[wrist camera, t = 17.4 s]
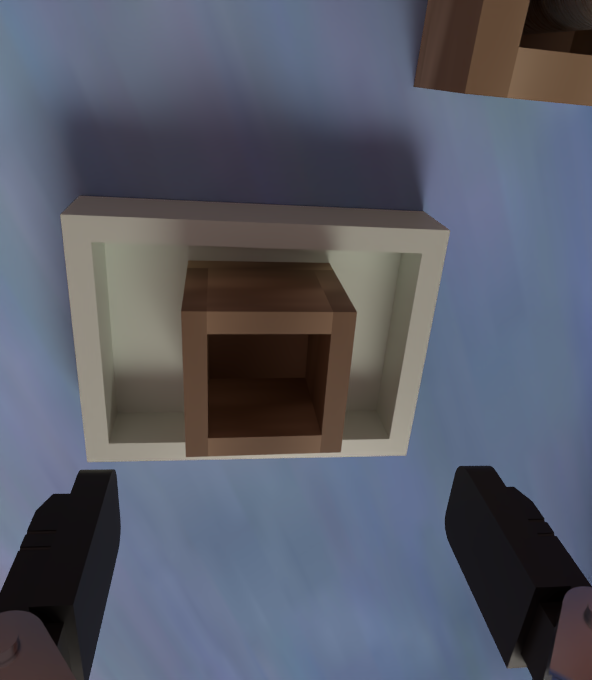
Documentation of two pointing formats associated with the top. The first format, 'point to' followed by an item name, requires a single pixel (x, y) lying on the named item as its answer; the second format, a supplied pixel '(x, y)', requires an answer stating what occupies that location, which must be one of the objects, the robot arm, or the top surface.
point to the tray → (239, 245)
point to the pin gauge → (557, 16)
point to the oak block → (501, 54)
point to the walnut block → (265, 358)
